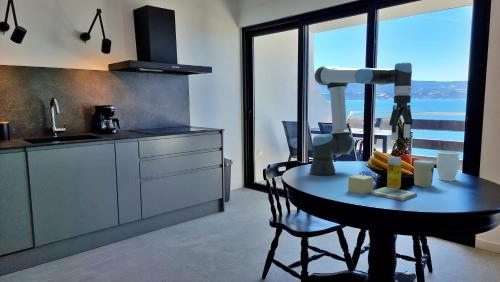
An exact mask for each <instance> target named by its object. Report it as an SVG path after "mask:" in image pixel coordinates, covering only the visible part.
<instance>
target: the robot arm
mask: <svg viewBox="0 0 500 282" xmlns="http://www.w3.org/2000/svg"><path fill="white" fill-rule="evenodd" d="M412 66H413V65H412V63H411V62H406V61H405V62H397V63H395V64H394V68H370V67H360V68H359V67H357V68H353V67H352V68H346V67H345V66H334V65H332V66H330V65H329V66H328V65H322V66H320V67H318V68H317V69H316V70H315V72H314V80H315V82H316V83H317V84H318V85H320V86H327V87H326V88H327V89H326V90H328V91H329V93H330V107H331V108H330V109H331V110H330V112H331V124H332V130H331V131H330V133H324V134H323V133H321V134H317V135H314V136H313V138H312V162H311V165H310V168H309V174H310V175H314V174H315V176H334V175H336V168H335V164H334V161H333V160H334V159H333V157H334V156H337V155H339V156H340V155H347V154H349V153H351V152H352V151H353V150H354V148H355V145H356V144H355V139H354V137H353V136H352V135H351V132H350V131H349V130H348V124H347V110H346V109H347V108H346V94H345V93H346V92H345V91H346V89H347V88H348V85H349V84H361V85H368V84H370V85H378V86H379V85H381V86H383V85H390V84H394V85H393V86H394V87H393V103H394V104H393V105H392V111H391V116H390V119H389V122H388V123H389V124H388V125H389V126H390V127H391V137H390V139H391V140H395V141H396V140H398V138H399V137H398V136H399V126H398V124H399V121H400V119H401V116H402V120H403V121H404V124H403V138H408V139H409V138H411V137H410V136H411V125H413V118H412V117H413V115H412V111H411V105H410V104H411V101H412V96H411V94H412V90H413V88H412V77H413V76H412V74H413V71H412V70H413V69H412Z"/></svg>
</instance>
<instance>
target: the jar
mask: <svg viewBox="0 0 500 282" xmlns="http://www.w3.org/2000/svg"><path fill="white" fill-rule="evenodd" d="M436 154H437V156H436V163H435V164H436V171H437V175H438V177H437V179H438V180H440V181H445V182H454V181H457V178H456V177H457V175H458V171H459V167H460V158H459V156H460V152H458V151H453V150H452V151H451V150H439V151H436Z"/></svg>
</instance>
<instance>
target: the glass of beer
mask: <svg viewBox="0 0 500 282" xmlns="http://www.w3.org/2000/svg"><path fill="white" fill-rule="evenodd" d="M386 175H387V177H386V179H387V180H386V181H387V182H386V187H388V188H393V189H399V190H400V188H401V187H402V186H401V185H402V181H401V180H402V157H400V156H388V158H387V174H386Z"/></svg>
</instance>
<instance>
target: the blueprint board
mask: <svg viewBox="0 0 500 282" xmlns="http://www.w3.org/2000/svg"><path fill="white" fill-rule="evenodd" d="M369 193H370V195H372V196H377V197H382V198H388V199H391V200H392V199H393V200H396V201H402V202H404V201H406V200H410V199H411V198H414V197H416V196H418V192H413V191H409V190H404V189H400V188H399V189H393V188H388V186H384V187H383V186H382V187H380V188H377V189H373V191H370V192H369Z"/></svg>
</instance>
